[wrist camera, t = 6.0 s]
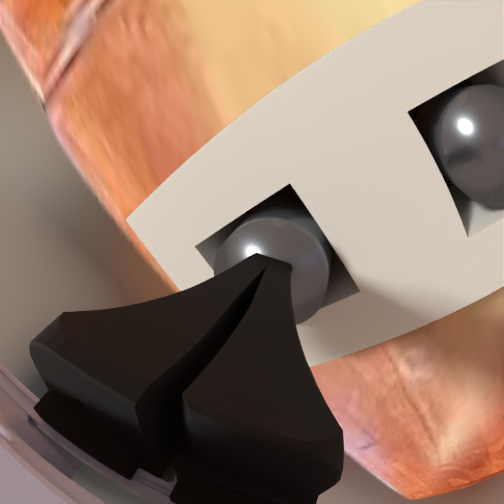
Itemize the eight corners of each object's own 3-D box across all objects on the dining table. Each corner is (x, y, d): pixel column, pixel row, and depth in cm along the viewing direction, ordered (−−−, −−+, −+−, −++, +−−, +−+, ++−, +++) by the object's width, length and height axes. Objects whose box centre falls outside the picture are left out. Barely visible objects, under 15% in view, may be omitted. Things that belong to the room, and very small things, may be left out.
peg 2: (502, 153, 10) (551, 177, 6) (440, 189, 12) (471, 226, 8) (464, 75, 9) (508, 67, 5) (398, 112, 11) (420, 116, 7)
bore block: (547, 184, 10) (599, 220, 5) (283, 319, 19) (259, 379, 14) (459, 4, 8) (499, -29, 3) (181, 186, 17) (125, 219, 12)
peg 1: (352, 245, 14) (348, 304, 10) (283, 279, 16) (257, 339, 12) (304, 172, 13) (281, 204, 9) (236, 216, 15) (193, 260, 11)
